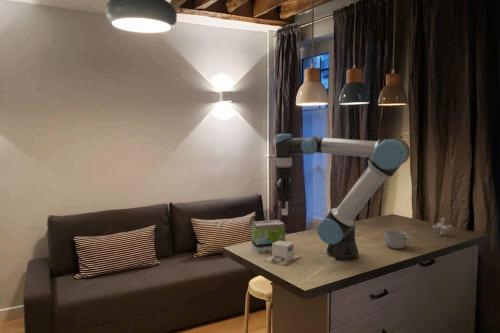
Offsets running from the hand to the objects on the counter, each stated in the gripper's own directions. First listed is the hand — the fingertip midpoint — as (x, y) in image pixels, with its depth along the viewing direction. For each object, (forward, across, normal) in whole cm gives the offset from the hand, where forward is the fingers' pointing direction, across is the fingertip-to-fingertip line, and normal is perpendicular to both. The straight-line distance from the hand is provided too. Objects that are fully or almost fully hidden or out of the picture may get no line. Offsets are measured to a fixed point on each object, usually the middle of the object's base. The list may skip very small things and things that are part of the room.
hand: (284, 214), depth 188 cm
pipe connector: (+21, -74, +60) cm, 98 cm away
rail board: (+21, +7, +2) cm, 22 cm away
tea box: (+21, -3, -11) cm, 24 cm away
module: (+19, +7, +2) cm, 20 cm away
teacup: (+21, -39, +44) cm, 63 cm away
